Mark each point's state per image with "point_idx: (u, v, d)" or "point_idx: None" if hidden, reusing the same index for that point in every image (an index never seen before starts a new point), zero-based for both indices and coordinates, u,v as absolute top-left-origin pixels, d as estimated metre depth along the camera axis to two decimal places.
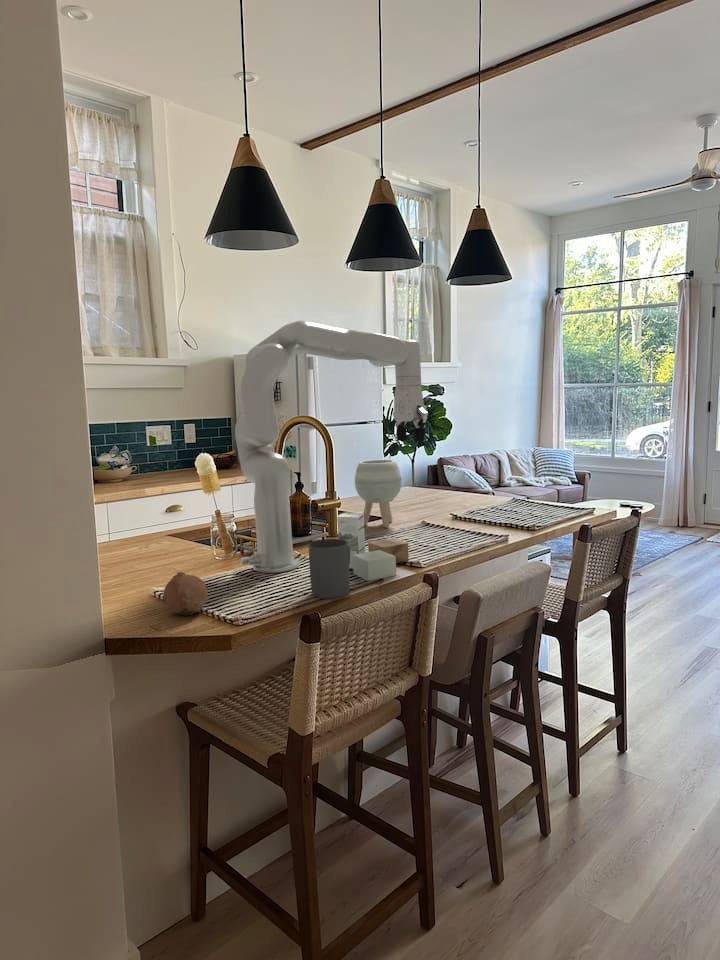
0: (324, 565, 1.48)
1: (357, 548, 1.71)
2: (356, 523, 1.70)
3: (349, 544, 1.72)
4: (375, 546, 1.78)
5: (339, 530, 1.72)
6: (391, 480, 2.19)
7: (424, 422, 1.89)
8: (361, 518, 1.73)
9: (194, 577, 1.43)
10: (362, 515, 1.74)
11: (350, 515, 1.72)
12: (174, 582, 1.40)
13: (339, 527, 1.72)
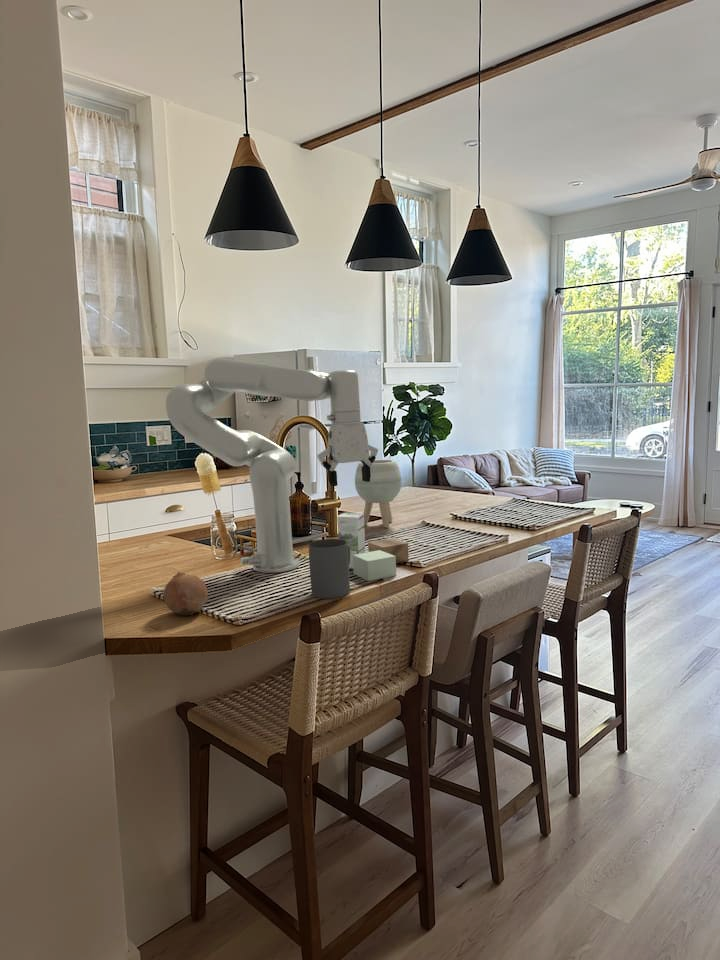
0: (324, 565, 1.48)
1: (357, 548, 1.71)
2: (356, 523, 1.70)
3: (349, 544, 1.72)
4: (375, 546, 1.78)
5: (339, 530, 1.72)
6: (391, 480, 2.19)
7: None
8: (361, 518, 1.73)
9: (194, 577, 1.43)
10: (362, 515, 1.74)
11: (350, 515, 1.72)
12: (174, 582, 1.40)
13: (339, 527, 1.72)
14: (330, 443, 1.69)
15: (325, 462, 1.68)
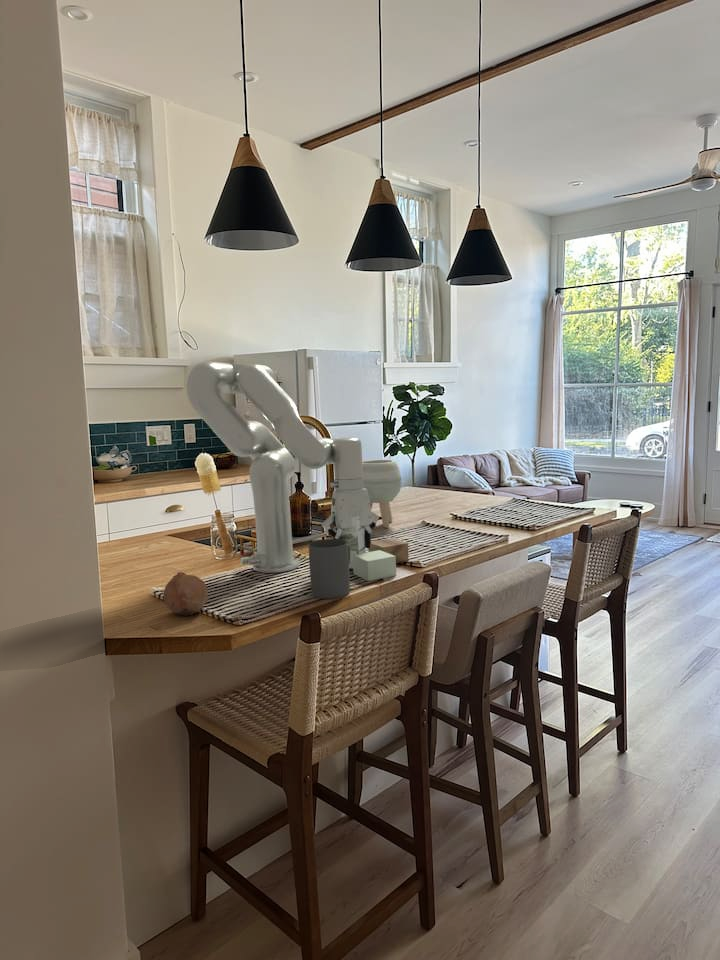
0: (324, 565, 1.48)
1: (357, 548, 1.71)
2: (356, 523, 1.70)
3: (349, 544, 1.72)
4: (375, 546, 1.78)
5: None
6: (391, 480, 2.19)
7: None
8: None
9: (194, 577, 1.43)
10: None
11: None
12: (174, 582, 1.40)
13: None
14: (333, 509, 1.71)
15: (330, 530, 1.70)
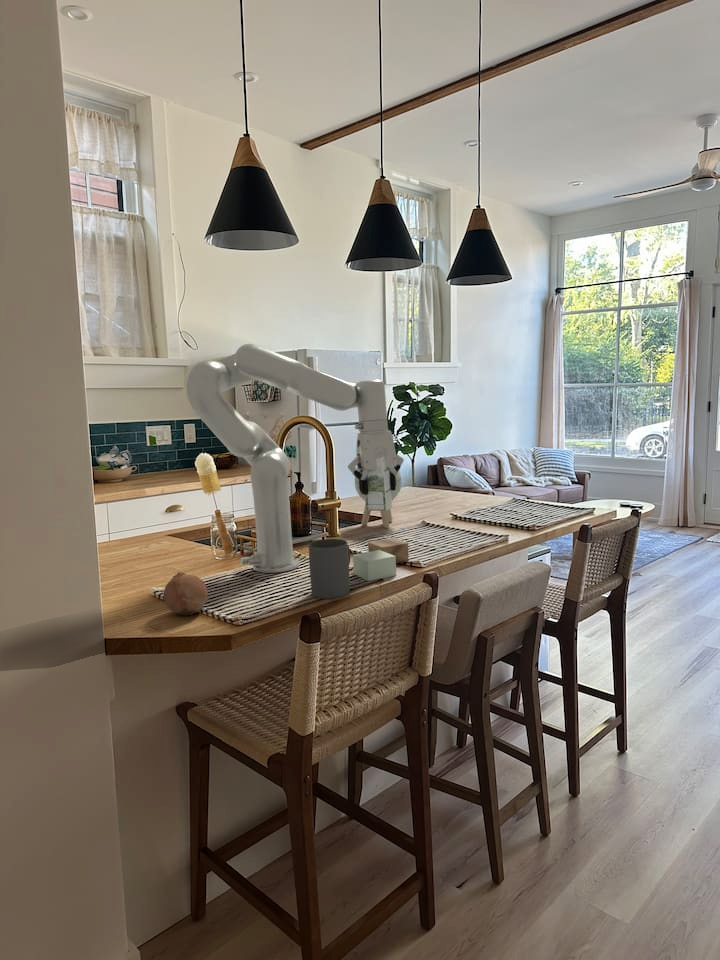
0: (324, 565, 1.48)
1: (383, 488, 1.73)
2: (382, 464, 1.72)
3: (375, 485, 1.73)
4: (375, 546, 1.78)
5: None
6: None
7: None
8: None
9: (194, 577, 1.43)
10: None
11: None
12: (174, 582, 1.40)
13: None
14: (358, 451, 1.73)
15: (356, 471, 1.72)
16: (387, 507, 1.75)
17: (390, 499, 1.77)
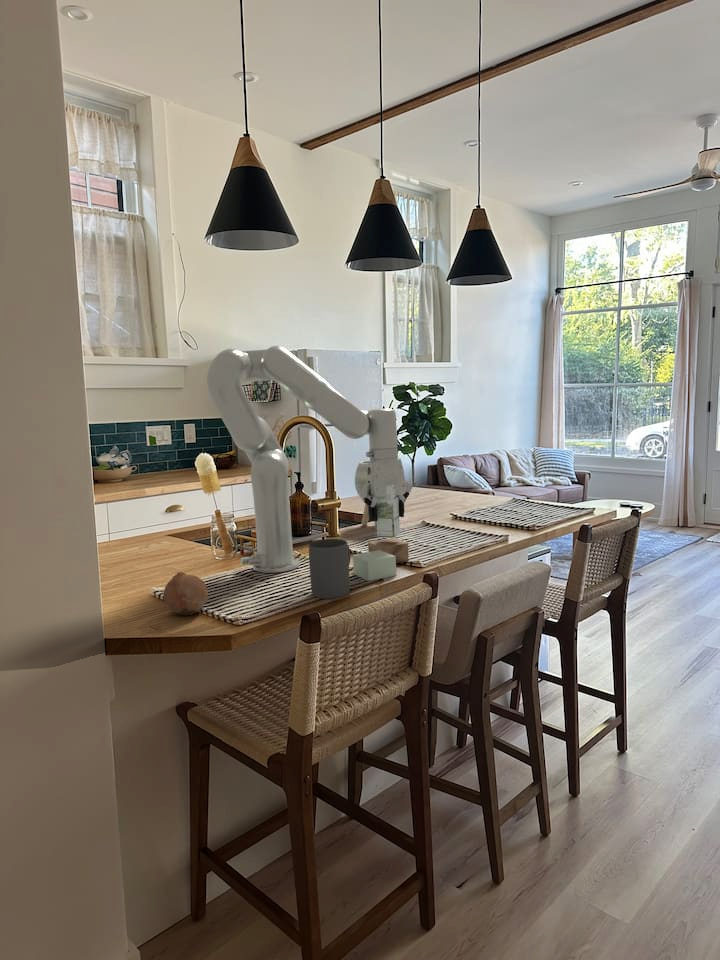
0: (324, 565, 1.48)
1: (392, 516, 1.75)
2: (391, 491, 1.74)
3: (384, 512, 1.76)
4: (375, 546, 1.78)
5: None
6: None
7: None
8: None
9: (194, 577, 1.43)
10: None
11: None
12: (174, 582, 1.40)
13: None
14: (369, 479, 1.75)
15: (366, 498, 1.74)
16: (396, 534, 1.77)
17: (398, 526, 1.80)
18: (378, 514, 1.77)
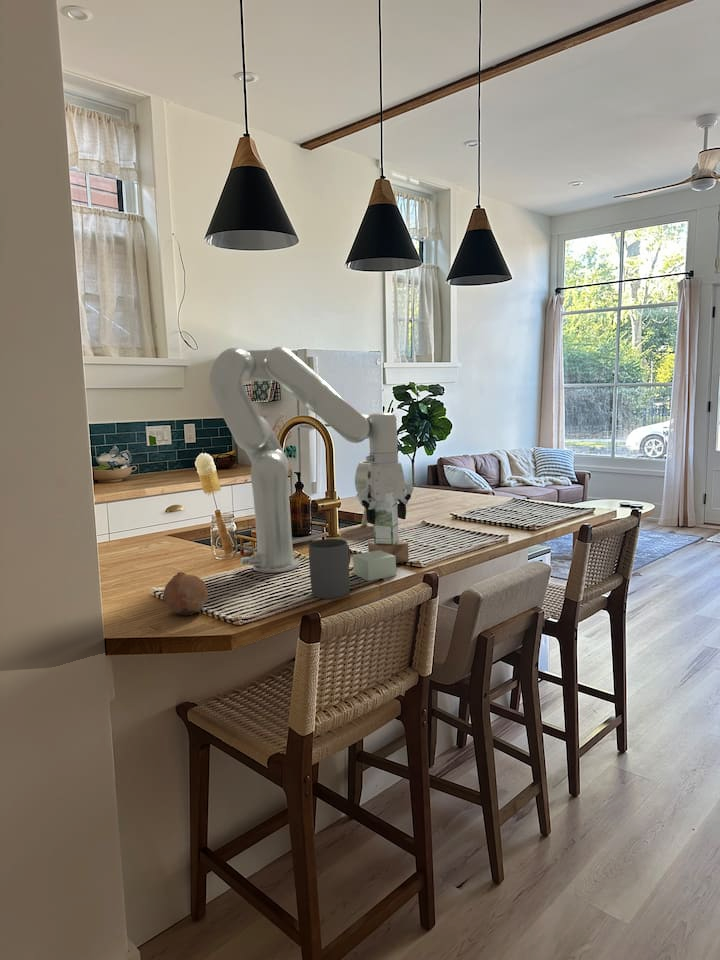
0: (324, 565, 1.48)
1: (391, 523, 1.76)
2: (390, 499, 1.75)
3: (383, 520, 1.76)
4: (375, 546, 1.78)
5: None
6: None
7: None
8: None
9: (194, 577, 1.43)
10: None
11: None
12: (174, 582, 1.40)
13: None
14: (369, 483, 1.75)
15: (364, 501, 1.74)
16: (394, 541, 1.77)
17: (397, 533, 1.80)
18: (377, 521, 1.77)
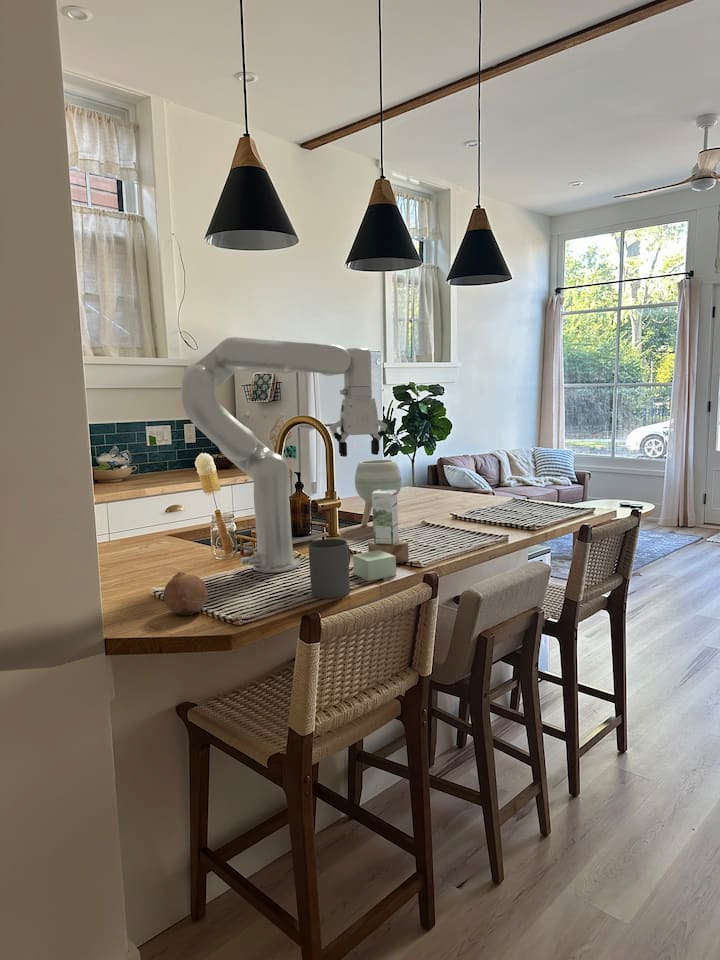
0: (324, 565, 1.48)
1: (391, 523, 1.76)
2: (390, 499, 1.75)
3: (383, 520, 1.76)
4: (375, 546, 1.78)
5: (373, 506, 1.76)
6: (391, 480, 2.19)
7: None
8: (395, 495, 1.78)
9: (194, 577, 1.43)
10: (395, 492, 1.78)
11: (384, 491, 1.76)
12: (174, 582, 1.40)
13: (373, 503, 1.76)
14: (342, 416, 1.79)
15: (336, 433, 1.78)
16: (394, 541, 1.77)
17: (397, 533, 1.80)
18: (377, 521, 1.77)
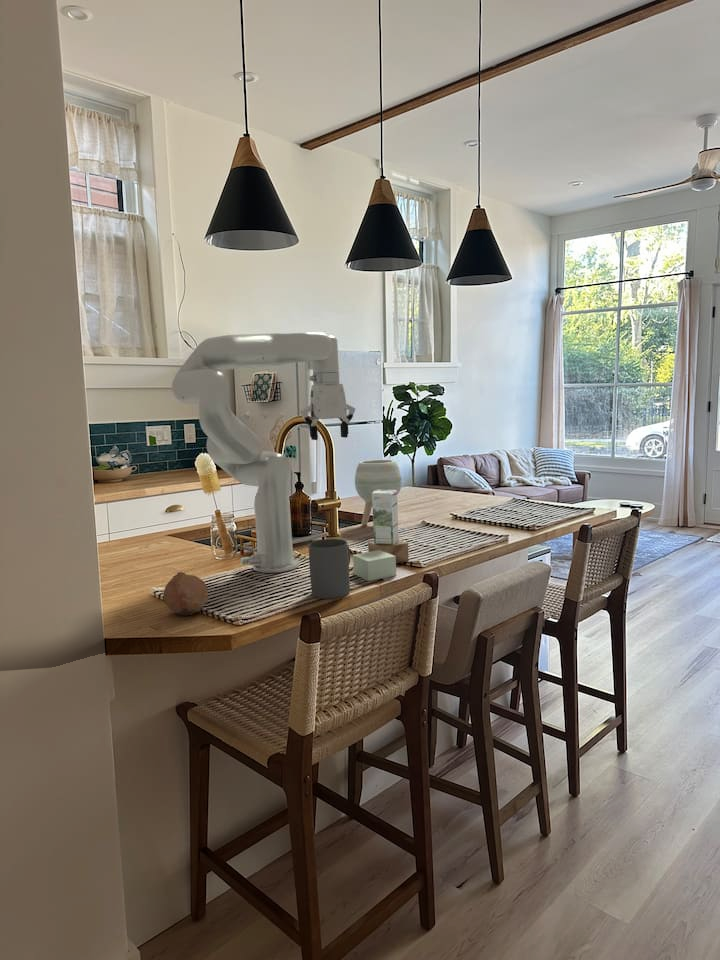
0: (324, 565, 1.48)
1: (391, 523, 1.76)
2: (390, 499, 1.75)
3: (383, 520, 1.76)
4: (375, 546, 1.78)
5: (373, 506, 1.76)
6: (391, 480, 2.19)
7: None
8: (395, 495, 1.78)
9: (194, 577, 1.43)
10: (395, 492, 1.78)
11: (384, 491, 1.76)
12: (174, 582, 1.40)
13: (373, 503, 1.76)
14: (311, 401, 1.88)
15: (307, 418, 1.87)
16: (394, 541, 1.77)
17: (397, 533, 1.80)
18: (377, 521, 1.77)
